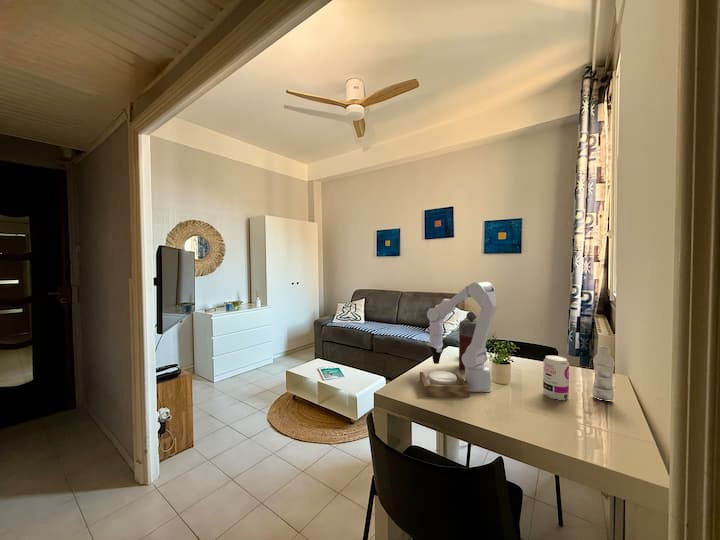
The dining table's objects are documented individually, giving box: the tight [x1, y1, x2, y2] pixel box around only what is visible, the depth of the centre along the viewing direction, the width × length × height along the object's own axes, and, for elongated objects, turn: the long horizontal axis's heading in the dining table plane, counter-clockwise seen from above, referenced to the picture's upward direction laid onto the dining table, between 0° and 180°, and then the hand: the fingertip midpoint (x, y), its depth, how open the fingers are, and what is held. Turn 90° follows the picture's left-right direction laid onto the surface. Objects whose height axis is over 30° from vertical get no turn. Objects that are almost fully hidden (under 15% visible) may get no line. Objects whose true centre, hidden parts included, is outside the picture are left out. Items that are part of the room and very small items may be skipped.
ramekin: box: [428, 370, 457, 385], centre depth 124 cm, size 11×11×5 cm
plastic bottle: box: [591, 345, 616, 401], centre depth 113 cm, size 6×7×20 cm
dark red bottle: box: [458, 310, 478, 372], centre depth 146 cm, size 9×11×28 cm
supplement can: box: [542, 355, 570, 401], centre depth 116 cm, size 8×8×15 cm
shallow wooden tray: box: [419, 371, 470, 398], centre depth 124 cm, size 17×14×4 cm
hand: (436, 363), depth 139 cm, fingers closed
